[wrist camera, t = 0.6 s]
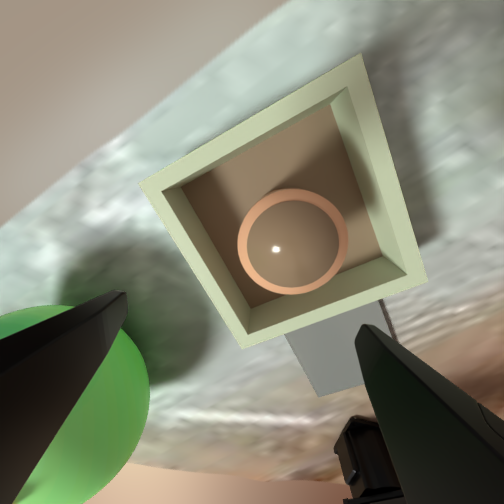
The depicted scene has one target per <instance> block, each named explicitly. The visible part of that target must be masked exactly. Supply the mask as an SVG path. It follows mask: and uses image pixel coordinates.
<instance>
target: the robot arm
mask: <svg viewBox="0 0 504 504" xmlns="http://www.w3.org/2000/svg"><path fill="white" fill-rule="evenodd" d="M127 314H128V301H127V293H126V292H125V291H119V290H113V291H110V292H108V293H106V294H103V295H101V296H99V297H96V298H94V299H92V300H90V301H87V302H85V303H83V304H80V305H78V306H76V307H73V308H71V309H69V310H67V311H64V312H62V313H60V314H57V315H55V316H53V317H50V318H48V319H46V320H44V321H41V322H39V323H37V324H34V325H32V326H30V327H27V328H25V329H23V330H21V331H18V332H16V333H14V334H11V335H9V336H7V337H4V338H2V339H0V504H12V503H13V502H14V500H15V499H16V497H17V495H18V494H19V492H20V491H21V489H22V488H23V486H24V484H25V483H26V481H27V480H28V478H29V477H30V475H31V473H32V472H33V470H34V469H35V467H36V466H37V464H38V462H39V461H40V459H41V458H42V456H43V455H44V453H45V451H46V450H47V448H48V447H49V445H50V444H51V442H52V441H53V439H54V437H55V436H56V434H57V433H58V431H59V430H60V428H61V426H62V425H63V423H64V422H65V420H66V419H67V417H68V415H69V414H70V412H71V411H72V409H73V408H74V406H75V404H76V403H77V401H78V400H79V398H80V397H81V395H82V393H83V392H84V390H85V389H86V387H87V386H88V384H89V382H90V381H91V379H92V378H93V376H94V375H95V373H96V371H97V370H98V368H99V367H100V365H101V364H102V362H103V360H104V359H105V357H106V355H107V354H108V352H109V350H110V348H111V346H112V344H113V342H114V340H115V338H116V336H117V334H118V332H119V330H120V328H121V326H122V324H123V322H124V320H125V318H126V316H127ZM354 344H355V349H356V353H357V357H358V361H359V365H360V369H361V373H362V377H363V380H364V384H365V387H366V390H367V393H368V395H369V398H370V401H371V404H372V407H373V409H374V412H375V415H376V418H377V421H378V423H379V424H377V423H372V422H368V421H364V420H359V419H355V418H352V419H350V420H349V421H348V423H347V425H346V427H345V428H344V430H343V432H342V434H341V436H340V437H339V439H338V441H337V443H336V444H335V446H334V453H335V454H338V456H339V460H340V464H341V468H342V472H343V476H344V480H345V483H346V484H347V485H349V486H350V490H351V493H352V497H353V499H348V498H347V499H343V503H344V504H504V421H503V420H502V419H501V418H499V417H498V416H496V415H495V414H494V413H492V412H491V411H490V410H488V409H487V408H486V407H484V406H483V405H482V404H480V403H477V401H476V400H475V399H473V398H472V397H471V396H469V395H468V394H467V393H465V392H464V391H463V390H461V389H460V388H459V387H457V386H456V385H454V384H453V383H452V382H450V381H449V380H448V379H446V378H445V377H444V376H442V375H441V374H440V373H438V372H437V371H436V370H434V369H433V368H431V367H430V366H429V365H427V364H426V363H425V362H423V361H422V360H421V359H419V358H418V357H417V356H415V355H414V354H413V353H411V352H410V351H409V350H407V349H406V348H404V347H403V346H402V345H400V344H399V343H398V342H396V341H395V340H394V339H392V338H391V337H390V336H388V335H387V334H386V333H384V332H383V331H382V330H380V329H379V328H377V327H376V326H375V325H371V324H362V325H361V327H360V329H359V331H358V333H357V335H356V337H355V341H354Z"/></svg>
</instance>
